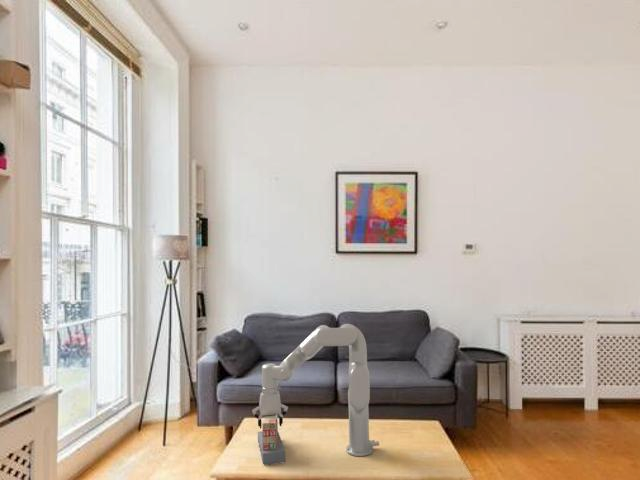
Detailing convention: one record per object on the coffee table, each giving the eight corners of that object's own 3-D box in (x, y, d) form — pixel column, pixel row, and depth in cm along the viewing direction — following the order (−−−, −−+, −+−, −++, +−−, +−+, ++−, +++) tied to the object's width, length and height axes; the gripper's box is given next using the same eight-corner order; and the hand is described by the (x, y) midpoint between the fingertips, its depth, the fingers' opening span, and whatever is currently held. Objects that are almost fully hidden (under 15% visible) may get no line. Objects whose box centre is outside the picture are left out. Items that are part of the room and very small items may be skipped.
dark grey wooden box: (277, 439, 220) (277, 429, 220) (285, 462, 194) (285, 450, 195) (257, 441, 217) (257, 431, 217) (263, 465, 192) (262, 453, 192)
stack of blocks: (265, 432, 217) (265, 407, 218) (277, 431, 217) (277, 406, 218) (262, 450, 196) (262, 422, 196) (276, 449, 196) (276, 422, 197)
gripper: (286, 386, 213) (287, 421, 212) (251, 389, 209) (251, 425, 208) (288, 390, 206) (289, 427, 205) (252, 394, 202) (252, 431, 201)
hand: (270, 426), depth 206 cm, fingers open, 9 cm apart
